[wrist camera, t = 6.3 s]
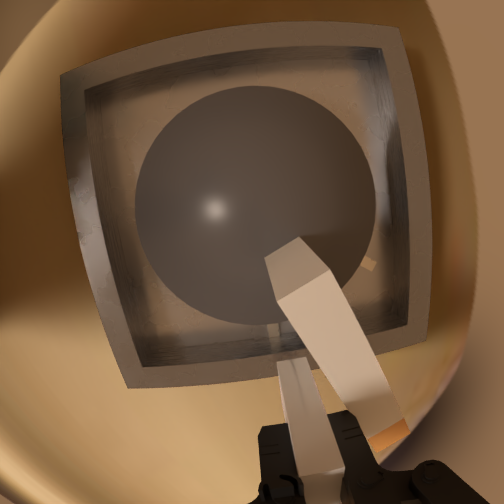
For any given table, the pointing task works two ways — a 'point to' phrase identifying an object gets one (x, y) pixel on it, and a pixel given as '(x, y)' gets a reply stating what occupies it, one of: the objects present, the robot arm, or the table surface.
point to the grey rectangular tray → (193, 89)
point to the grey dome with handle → (269, 229)
